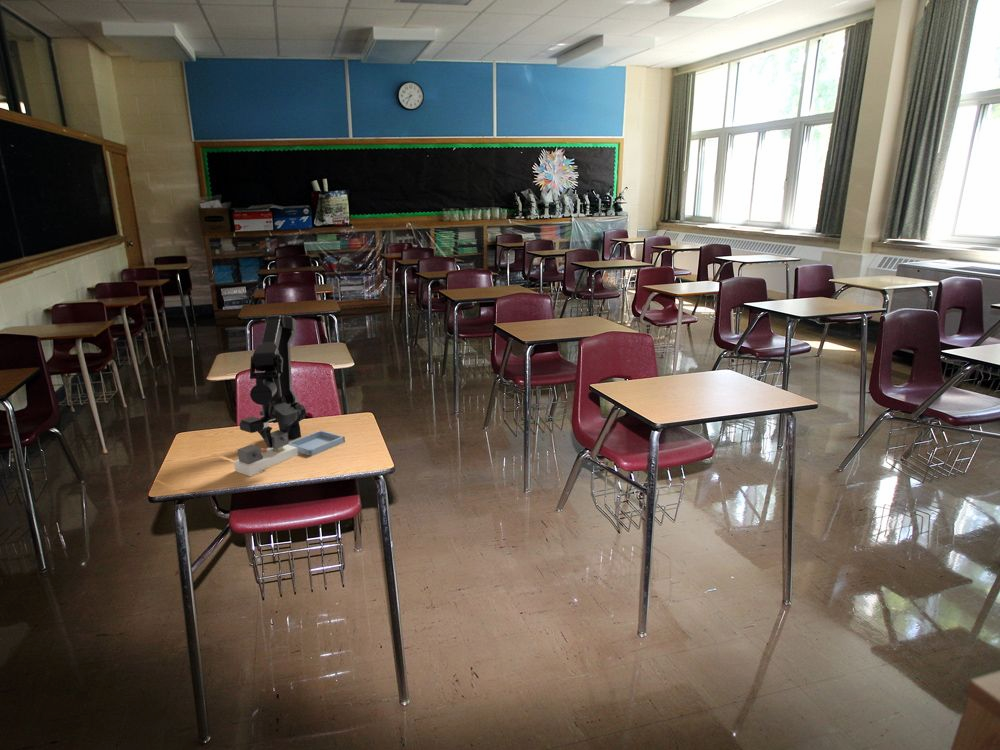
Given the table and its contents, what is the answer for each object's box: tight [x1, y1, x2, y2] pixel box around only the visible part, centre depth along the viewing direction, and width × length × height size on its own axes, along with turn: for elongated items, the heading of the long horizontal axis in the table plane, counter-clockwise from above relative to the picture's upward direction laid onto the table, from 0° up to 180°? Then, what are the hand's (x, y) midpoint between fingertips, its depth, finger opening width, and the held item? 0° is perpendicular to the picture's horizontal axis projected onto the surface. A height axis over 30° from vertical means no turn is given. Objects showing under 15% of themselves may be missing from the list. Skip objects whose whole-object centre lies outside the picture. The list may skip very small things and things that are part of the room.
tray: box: [288, 429, 346, 457], centre depth 190 cm, size 11×13×2 cm
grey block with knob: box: [265, 429, 290, 452], centre depth 181 cm, size 6×4×6 cm
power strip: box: [233, 444, 299, 477], centre depth 178 cm, size 9×16×6 cm, turn 145°
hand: (277, 445), depth 181 cm, fingers closed on grey block with knob, 4 cm apart
